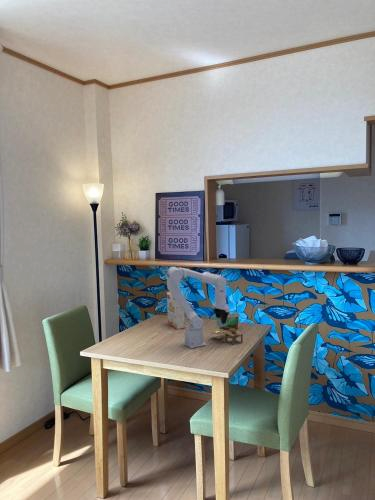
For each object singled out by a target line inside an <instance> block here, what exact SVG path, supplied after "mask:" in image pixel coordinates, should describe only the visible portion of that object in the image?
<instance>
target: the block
mask: <svg viewBox="0 0 375 500" xmlns="http://www.w3.org/2000/svg"><path fill="white" fill-rule="evenodd" d="M216 325H217V326H218V327H222V326H227V320H226V323H225V324H222V321H221V317H219V318H216ZM222 328H223V327H222Z"/></svg>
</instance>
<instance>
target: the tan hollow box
mask: <svg viewBox="0 0 375 500" xmlns="http://www.w3.org/2000/svg"><path fill="white" fill-rule="evenodd" d="M236 330H237V329H235V328H233V329H232V332H228V333H225V339H224V341H225V343H228V338H227V335H229V336H232V337H231V345H232V346H234V345H235V341H236V340H237V337H238V336H240V343H241V344H243V339H244V338H243V337H244V336H243V333H242V332H240V331H239V332H237V331H236Z"/></svg>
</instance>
